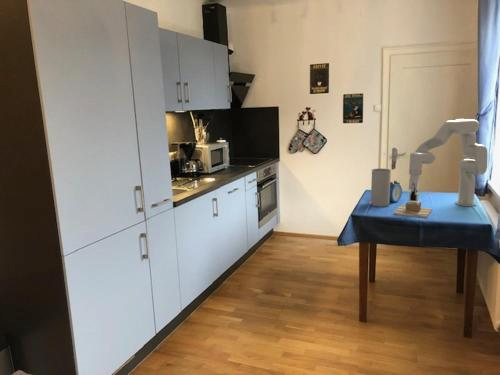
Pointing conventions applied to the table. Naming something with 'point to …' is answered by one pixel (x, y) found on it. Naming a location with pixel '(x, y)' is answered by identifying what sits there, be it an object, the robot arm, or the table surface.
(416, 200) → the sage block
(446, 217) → the table surface
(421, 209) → the build board
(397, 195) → the alarm clock
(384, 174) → the cylinder vase
